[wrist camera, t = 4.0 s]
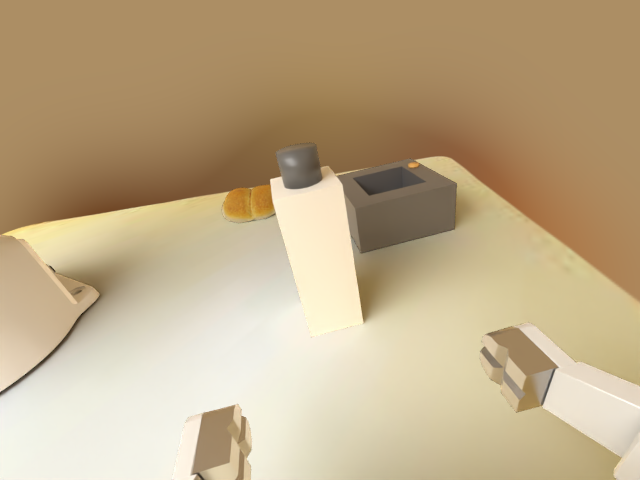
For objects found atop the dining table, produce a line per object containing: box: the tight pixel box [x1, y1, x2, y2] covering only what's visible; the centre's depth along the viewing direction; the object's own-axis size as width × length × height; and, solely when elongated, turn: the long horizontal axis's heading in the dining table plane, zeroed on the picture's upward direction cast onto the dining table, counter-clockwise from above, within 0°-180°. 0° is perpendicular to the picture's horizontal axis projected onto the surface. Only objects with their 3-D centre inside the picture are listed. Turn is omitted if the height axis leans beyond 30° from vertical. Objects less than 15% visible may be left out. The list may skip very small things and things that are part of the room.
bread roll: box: [222, 185, 276, 223], centre depth 44 cm, size 8×9×4 cm
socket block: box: [337, 158, 457, 253], centre depth 33 cm, size 10×10×5 cm
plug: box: [270, 143, 363, 337], centre depth 20 cm, size 4×4×13 cm
